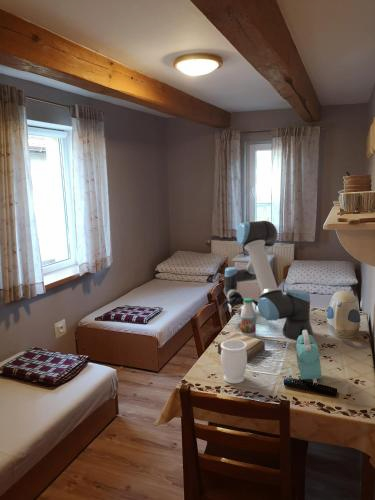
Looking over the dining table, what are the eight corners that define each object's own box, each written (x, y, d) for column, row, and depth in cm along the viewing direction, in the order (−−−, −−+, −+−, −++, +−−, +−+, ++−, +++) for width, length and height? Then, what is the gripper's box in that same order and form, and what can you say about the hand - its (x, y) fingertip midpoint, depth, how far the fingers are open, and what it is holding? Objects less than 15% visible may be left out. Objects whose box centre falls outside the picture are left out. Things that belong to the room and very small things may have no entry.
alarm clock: (323, 390, 150) (324, 340, 146) (297, 388, 152) (298, 339, 148) (317, 368, 167) (319, 324, 163) (294, 367, 168) (295, 323, 165)
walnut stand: (264, 349, 187) (264, 339, 186) (247, 362, 174) (247, 351, 174) (236, 341, 197) (236, 332, 196) (218, 353, 184) (217, 343, 184)
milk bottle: (239, 332, 208) (239, 296, 204) (254, 332, 207) (254, 296, 204) (241, 338, 200) (241, 301, 196) (256, 338, 200) (256, 300, 196)
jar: (229, 387, 154) (228, 352, 151) (216, 376, 163) (216, 342, 160) (252, 381, 158) (251, 346, 155) (238, 370, 167) (238, 337, 164)
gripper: (255, 302, 234) (265, 314, 213) (213, 304, 231) (220, 317, 211) (255, 290, 233) (265, 301, 212) (213, 292, 230) (220, 303, 209)
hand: (243, 309), depth 211 cm, fingers open, 13 cm apart
